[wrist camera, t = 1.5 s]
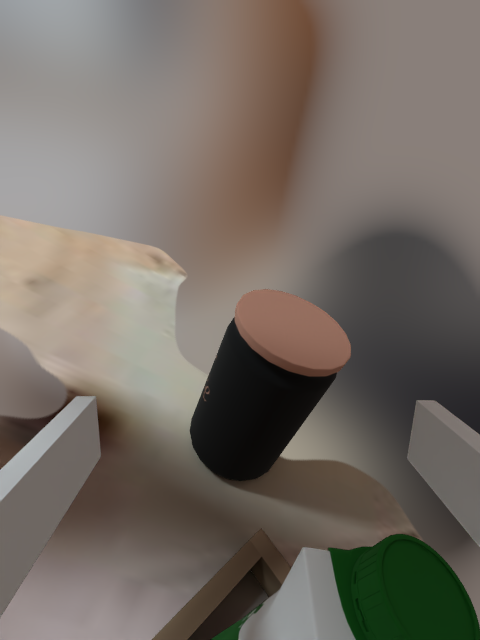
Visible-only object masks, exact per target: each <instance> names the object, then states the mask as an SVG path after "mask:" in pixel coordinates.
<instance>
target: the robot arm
mask: <svg viewBox="0 0 480 640" xmlns="http://www.w3.org/2000/svg"><path fill="white" fill-rule="evenodd" d="M100 457H101V450H100V438H99V426H98V414H97V402H96V396H76V397H75V398H74V399H73V400H72V401H71V402H70V403H69V404H68V405H67V406H66V407H65V408H64V409H63V410H62V411H61V412H60V413H59V414H58V415H57V416H56V417H55V418H54V419H52V420H51V421H50V422H49V423H48V424H47V425H46V426H45V427H44V428H43V429H42V430H41V431H40V432H39V433H38V434H37V435H36V436H35V437H34V438H33V439H32V440H31V441H30V442H29V443H28V444H27V445H26V446H24V447H23V448H22V449H21V450H20V451H19V452H18V453H17V454H16V455H15V456H14V457H13V458H12V459H11V460H10V461H9V462H8V463H7V464H6V465H5V466H4V467H3V468H2V469H0V617H1V616H2V614H3V612H4V611H5V609H6V608H7V606H8V604H9V603H10V601H11V600H12V598H13V596H14V595H15V593H16V592H17V590H18V588H19V587H20V585H21V584H22V582H23V580H24V579H25V577H26V576H27V574H28V572H29V571H30V569H31V568H32V566H33V564H34V563H35V561H36V560H37V558H38V556H39V555H40V553H41V552H42V550H43V548H44V547H45V545H46V544H47V542H48V540H49V539H50V537H51V536H52V534H53V532H54V531H55V529H56V528H57V526H58V524H59V523H60V521H61V520H62V518H63V516H64V515H65V513H66V512H67V510H68V508H69V507H70V505H71V504H72V502H73V500H74V499H75V497H76V496H77V494H78V492H79V491H80V489H81V488H82V486H83V484H84V483H85V481H86V480H87V478H88V476H89V475H90V473H91V472H92V470H93V468H94V467H95V465H96V464H97V462H98V460H99V459H100ZM407 459H408V460H409V461H410V463H411V464H412V465H413V466H414V468H415V469H416V470H417V471H418V472H419V474H420V475H421V476H422V477H423V479H424V480H425V481H426V482H427V483H428V485H429V486H430V487H431V488H432V490H433V491H434V492H435V493H436V494H437V496H438V497H439V498H440V499H441V500H442V502H443V503H444V504H445V505H446V507H447V508H448V509H449V510H450V511H451V513H452V514H453V515H454V516H455V518H456V519H457V520H458V521H459V523H460V524H461V525H462V526H463V527H464V528H465V530H466V531H467V532H468V534H470V536H471V537H472V538H473V540H474V541H475V542H476V543H477V544H478V546H479V547H480V435H479V434H478V433H477V432H475V431H474V430H473V429H471V428H470V427H469V426H467V425H466V424H465V423H463V422H462V421H461V420H459V419H458V418H457V417H456V416H454V415H453V414H452V413H450V412H449V411H448V410H446V409H445V408H444V407H443V406H441V405H440V404H439V403H437V402H436V401H429V400H424V401H423V400H417V401H416V407H415V414H414V420H413V426H412V432H411V438H410V444H409V451H408V456H407Z"/></svg>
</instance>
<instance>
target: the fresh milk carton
mask: <svg viewBox="0 0 480 640" xmlns="http://www.w3.org/2000/svg"><path fill="white" fill-rule="evenodd" d="M210 640H480V627H479V623H478V619H477V615H476V613H475V610H474V607H473V604H472V602H471V600H470V598H469V595H468V594H467V592H466V590H465V588H464V586H463V584H462V583H461V582H460V580H459V578H458V577H457V575H456V574H455V572H454V571H453V570H452V568H451V567H450V566H449V565H448V563H447V562H446V561H445V560H444V559H443V558H442V557H441V556H440V555H439V554H438V553H437V552H436V551H435V550H434V549H432V548H431V547H430V546H428V545H427V544H426V543H424V542H423V541H421V540H419V539H417V538H415V537H412V536H409V535H405V534H395V535H390V536H389V537H386V538H385V539H383V540H382V541H380V542H379V543H377V544H376V545H374V546H373V547H358V548H355V549H352V550H343V549H337V548H328V551H327V550H321V549H315V548H308V547H303V548H302V550H301V552H300V553H299V555H298V557H297V559H296V561H295V562H294V564H293V566H292V568H291V570H290V572H289V573H288V575H287V577H286V579H285V581H284V583H283V584H282V586H281V588H280V590H278V591H277V592H276V593H274V594H273V595H272V596H271V597H269V598H268V599H267V600H265V601H264V602H263V603H262V604H260V605H259V606H258V607H256V608H255V609H254V610H253V611H251V612H250V613H249V614H247V615H246V616H245V617H243V618H242V619H241V620H239V621H238V622H236V623H235V624H233V625H231V626H230V627H228V628H227V629H225V630H224V631H222V632H221V633H219V634H218V635H216V636H215V637H213V638H212V639H210Z"/></svg>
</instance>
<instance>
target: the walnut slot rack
mask: <svg viewBox="0 0 480 640" xmlns="http://www.w3.org/2000/svg"><path fill="white" fill-rule="evenodd" d="M249 570H251V571H252V573H253V574H254V576H255V577H256V579H257V580H258V582H259V583H260V584H261V586H262V587H263V589H264V590H265V592H266V593H267V595H268V596H269V597H271V596H272V595H273V594H274V593H276V592H277V591H278V590H280V588H281V586H282V584H283V583H284V581H285V579H286V577H287V575H288V573H289V572H290V570H291V567H290V566H289V564H288V563H287V562H286V560H285V559H284V558H283V556H282V555H281V554H280V552H279V551H278V550H277V548H276V547H275V546H274V544H273V543H272V542H271V540H270V539H269V538H268V536H267V535H266V534H265V532H264V531H263V530H262V528H261V529H260V530H259V531H258V532H257V533H256V534H255V535H254V536H253V537H252V538H251V539H250V540H249V541H248V542H247V543H246V544H245V545H244V546H243V547H242V548H241V549H240V550H239V551H238V552H237V553H236V554H235V555H234V556H233V557H232V558H231V559H230V560H229V561H228V562H227V563H226V564H225V565H224V566H223V567H222V568H221V569H220V570H219V571H218V572H217V574H216V575H215V576H214V577H213V578H212V579H211V580H210V581H209V582H208V583H207V584H206V585H205V586H204V587H203V588H202V589H201V590H200V591H199V592H198V593H197V594H196V595H195V596H194V597H193V598H192V599H191V600H190V601H189V602H188V603H187V604H186V605H185V606H184V607H183V608H182V609H181V610H180V611H179V612H178V613H177V614H176V615H175V616H174V617H173V618H172V619H171V620H170V621H169V622H168V623H167V624H166V625H165V627H164V628H163V629H162V630H161V631H160V632H159V633H158V634H157V635H156V636H155V637H154V638H153V639H152V640H187V639H188V638H189V637H190V636H191V635H192V634H193V633H194V631H195V630H196V629H197V628H198V627H199V626H200V625H201V624H202V623H203V621H204V620H205V619H206V618H207V617H208V616H209V615H210V614H211V613H212V611H213V610H214V609H215V608H216V607H217V606H218V605H219V604H220V602H221V601H222V600H223V599H224V598H225V597H226V596H227V595H228V594H229V592H230V591H231V590H232V589H233V588H234V587H235V586H236V585H237V584H238V582H239V581H240V580H241V579H242V578H243V577H244V576H245V575H246V573H247V572H248V571H249Z"/></svg>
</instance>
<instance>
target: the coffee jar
mask: <svg viewBox="0 0 480 640" xmlns="http://www.w3.org/2000/svg"><path fill="white" fill-rule="evenodd" d="M350 356H351V345H350V343H349V340H348V338H347V335H346V333H345V332H344V331H343V329H342V328H341V327H340V326H339V325H338V323H337V322H336V321H335V320H334V319H333V318H331V317H330V316H329V315H328V314H327V313H326V312H325V311H323V310H321V309H320V308H318V307H317V306H315V305H313V304H312V303H310V302H308V301H306V300H304V299H302V298H300V297H298V296H295V295H292V294H289V293H285V292H282V291H275V290H268V289H263V290H253V291H251V292H249V293H247V294H245V295H243V296H242V298H241V299H240V300H239V302H238V303H237V306H236V309H235V317H234V318H233V320H232V321H231V323H230V324H229V326H228V327H227V330H226V333H225V335H224V338H223V340H222V343H221V345H220V348H219V350H218V353H217V356H216V358H215V361H214V363H213V366H212V369H211V371H210V374H209V376H208V379H207V381H206V384H205V386H204V389H203V391H202V394H201V397H200V399H199V402H198V404H197V407H196V409H195V412H194V414H193V417H192V421H191V427H190V434H191V439H192V445H193V448H194V449H195V451H196V453H197V455H198V457H199V458H200V460H201V461H202V462H203V463H204V464H205V465H206V466H207V467H208V468H209V469H210V470H211V471H213V472H215V473H216V474H218V475H220V476H222V477H224V478H227V479H233V480H238V481H243V480H250V479H255V478H258V477H259V476H261V475H263V474H264V473H266V472H268V471H269V469H270V468H271V467H272V465H273V464H274V462H275V461H276V460H277V458H278V457H279V456H280V454H281V453H282V451H283V450H284V449H285V447H286V446H287V444H288V443H289V442H290V440H291V439H292V438H293V436H294V435H295V434H296V432H297V431H298V429H299V428H300V427H301V425H302V424H303V422H304V421H305V420H306V418H307V417H308V415H309V414H310V413H311V411H312V410H313V409H314V407H315V406H316V404H317V403H318V402H319V400H320V399H321V397H322V396H323V395H324V393H325V392H326V391H327V389H328V388H329V387H330V385H331V384H332V382H333V381H334V380H335V378H336V374H337V372H338V371H340V370H341V368H343V366H344V365H345V364H346V362H347V361H348V360H349V358H350Z"/></svg>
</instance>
